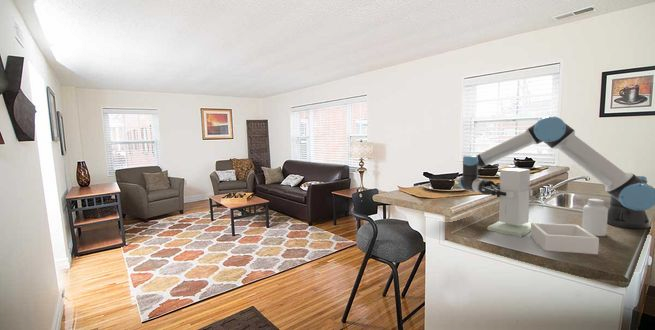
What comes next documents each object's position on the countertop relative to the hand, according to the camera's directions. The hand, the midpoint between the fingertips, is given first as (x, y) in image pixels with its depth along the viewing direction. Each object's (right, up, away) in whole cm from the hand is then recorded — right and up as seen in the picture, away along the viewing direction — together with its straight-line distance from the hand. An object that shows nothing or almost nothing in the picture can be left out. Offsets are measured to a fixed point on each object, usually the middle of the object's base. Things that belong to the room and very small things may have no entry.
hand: (522, 194), depth 134 cm
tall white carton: (-1, -14, +6) cm, 15 cm away
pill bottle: (+27, -17, -6) cm, 32 cm away
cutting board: (-1, -16, +6) cm, 17 cm away
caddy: (+5, -18, -16) cm, 25 cm away
